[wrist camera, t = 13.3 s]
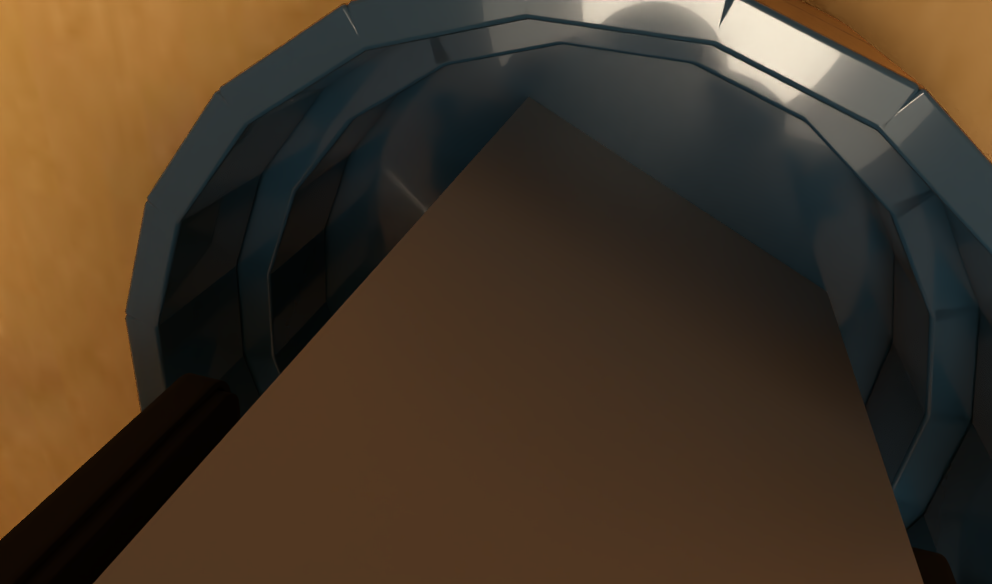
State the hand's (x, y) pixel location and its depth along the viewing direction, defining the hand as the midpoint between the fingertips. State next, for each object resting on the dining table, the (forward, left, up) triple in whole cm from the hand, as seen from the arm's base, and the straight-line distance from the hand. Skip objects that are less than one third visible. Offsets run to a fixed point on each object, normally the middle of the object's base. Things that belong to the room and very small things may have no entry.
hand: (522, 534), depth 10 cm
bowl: (0, 0, -7) cm, 7 cm away
